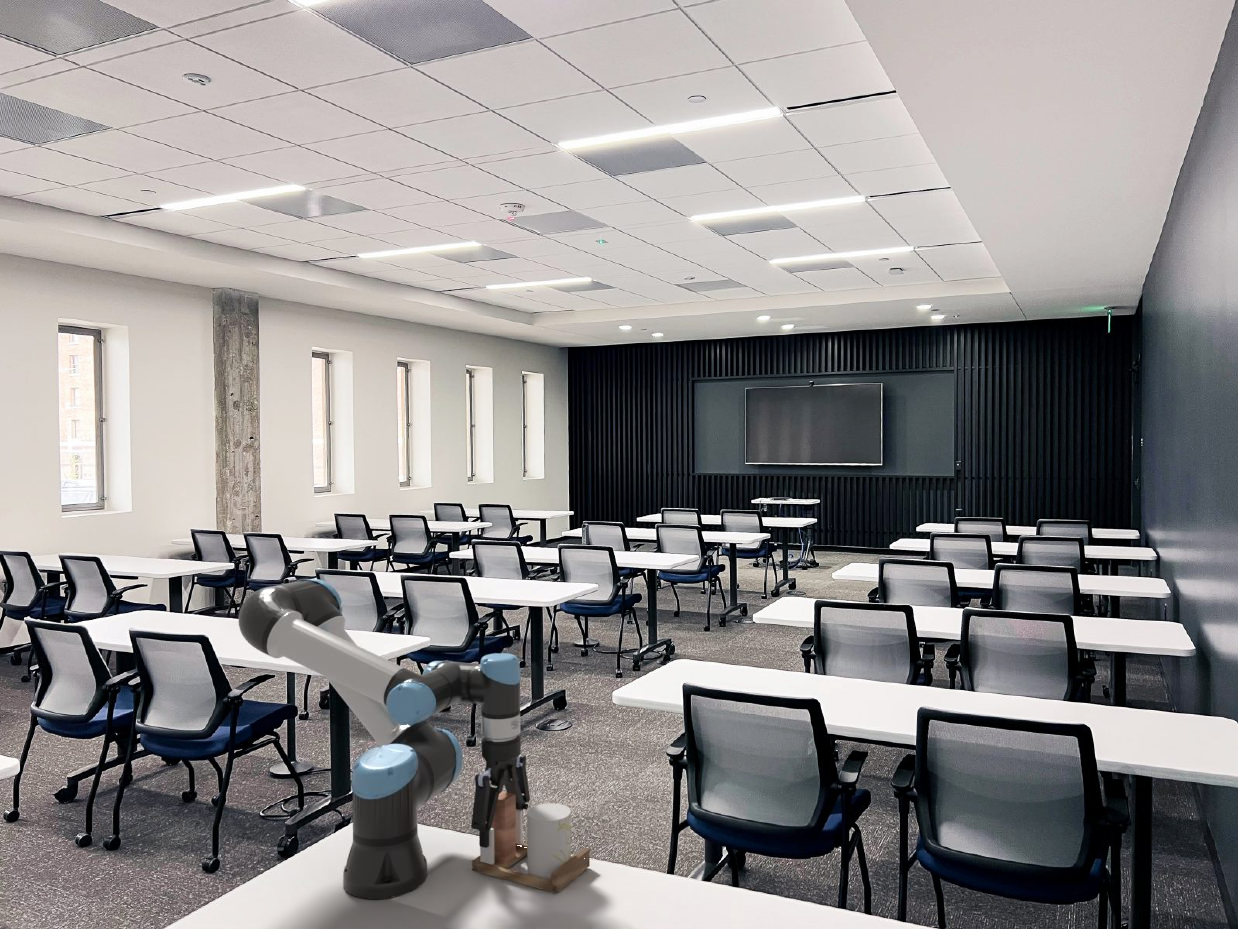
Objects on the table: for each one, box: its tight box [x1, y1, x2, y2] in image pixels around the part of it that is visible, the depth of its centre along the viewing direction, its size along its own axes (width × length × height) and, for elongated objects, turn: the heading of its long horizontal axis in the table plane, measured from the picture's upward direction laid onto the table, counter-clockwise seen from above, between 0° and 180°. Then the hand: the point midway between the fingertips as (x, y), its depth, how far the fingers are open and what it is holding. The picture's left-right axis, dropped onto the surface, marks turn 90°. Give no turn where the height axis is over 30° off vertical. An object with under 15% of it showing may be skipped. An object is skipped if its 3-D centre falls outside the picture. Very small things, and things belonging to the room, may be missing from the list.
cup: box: [526, 802, 572, 881], centre depth 168 cm, size 8×8×12 cm
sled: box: [471, 791, 591, 894], centre depth 170 cm, size 19×12×13 cm, turn 62°
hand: (502, 852), depth 173 cm, fingers closed on sled, 9 cm apart
